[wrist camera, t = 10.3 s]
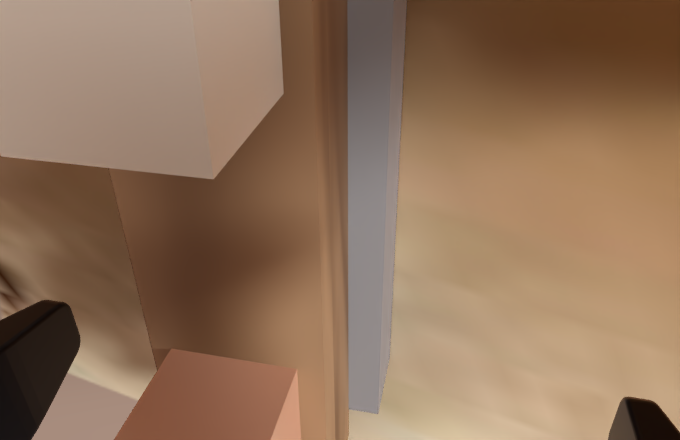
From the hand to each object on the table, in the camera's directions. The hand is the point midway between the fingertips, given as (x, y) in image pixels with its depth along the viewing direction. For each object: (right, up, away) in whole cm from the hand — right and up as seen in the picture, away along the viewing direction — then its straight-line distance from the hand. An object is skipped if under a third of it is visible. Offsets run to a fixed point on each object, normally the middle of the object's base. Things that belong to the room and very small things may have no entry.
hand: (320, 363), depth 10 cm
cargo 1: (-3, +7, +3) cm, 8 cm away
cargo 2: (-3, -4, +10) cm, 11 cm away
